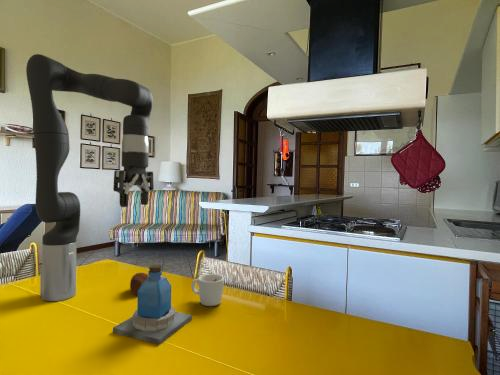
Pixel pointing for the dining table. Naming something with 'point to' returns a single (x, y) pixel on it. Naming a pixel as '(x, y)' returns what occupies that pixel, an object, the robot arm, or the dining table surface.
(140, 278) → the potato
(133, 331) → the ring block
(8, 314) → the dining table surface
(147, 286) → the perfume bottle
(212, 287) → the cup
